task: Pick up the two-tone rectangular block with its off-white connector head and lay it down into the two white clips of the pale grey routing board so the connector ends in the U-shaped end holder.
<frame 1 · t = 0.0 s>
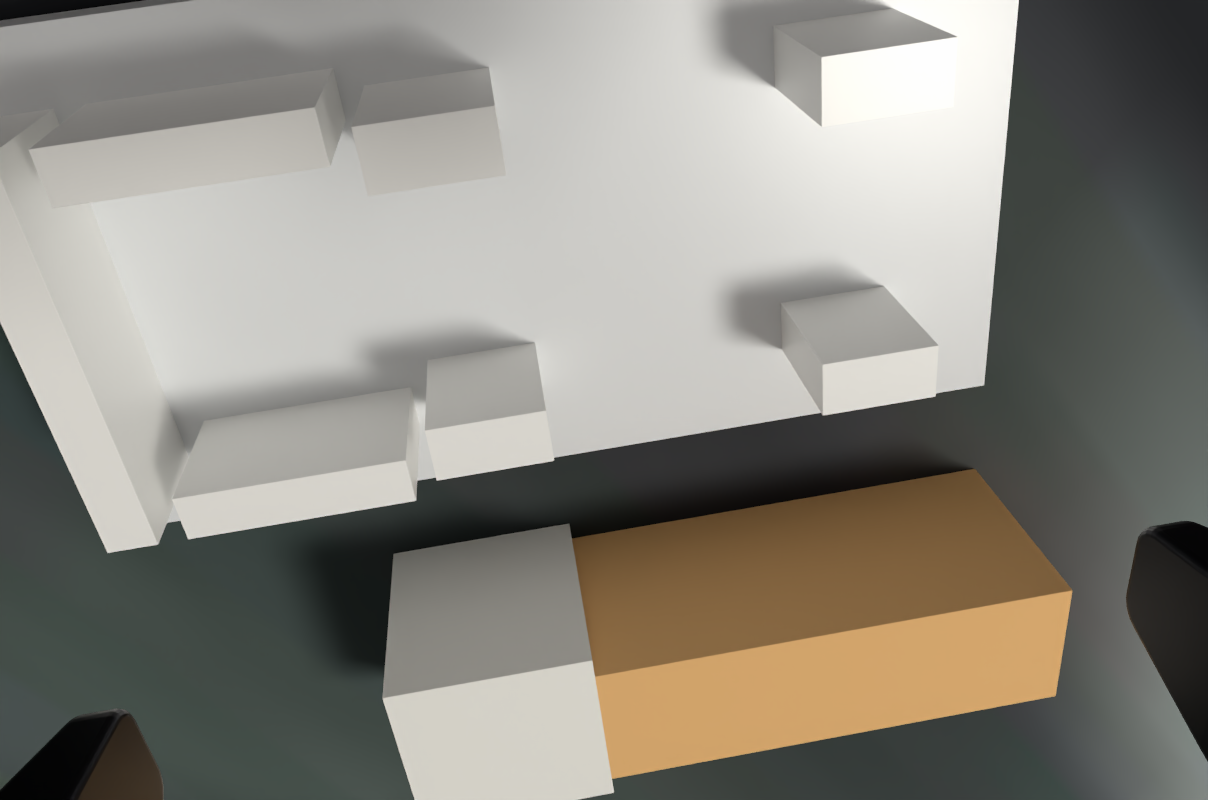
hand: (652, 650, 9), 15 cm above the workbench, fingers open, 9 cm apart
two-tone rectangular block: (741, 559, 28), on the workbench
routing board: (596, 212, 22), on the workbench
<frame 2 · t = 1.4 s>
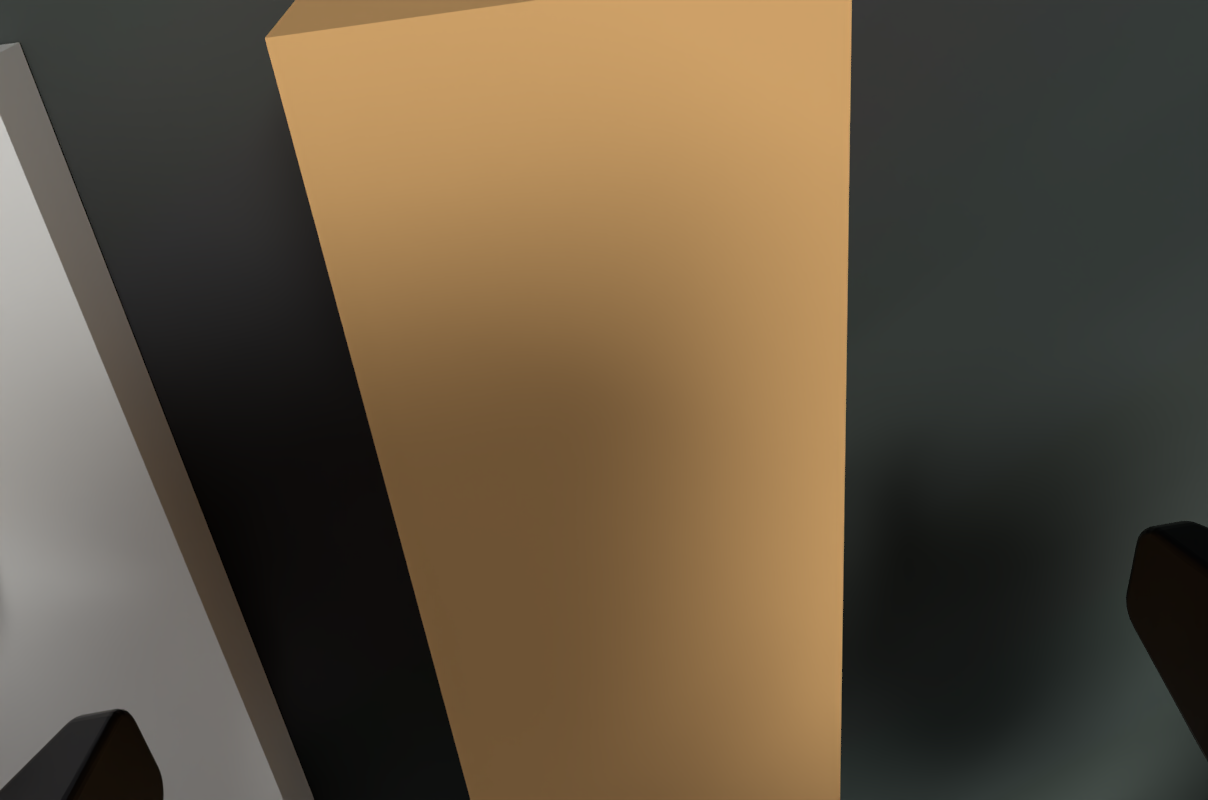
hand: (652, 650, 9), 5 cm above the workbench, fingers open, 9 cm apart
two-tone rectangular block: (589, 457, 13), on the workbench
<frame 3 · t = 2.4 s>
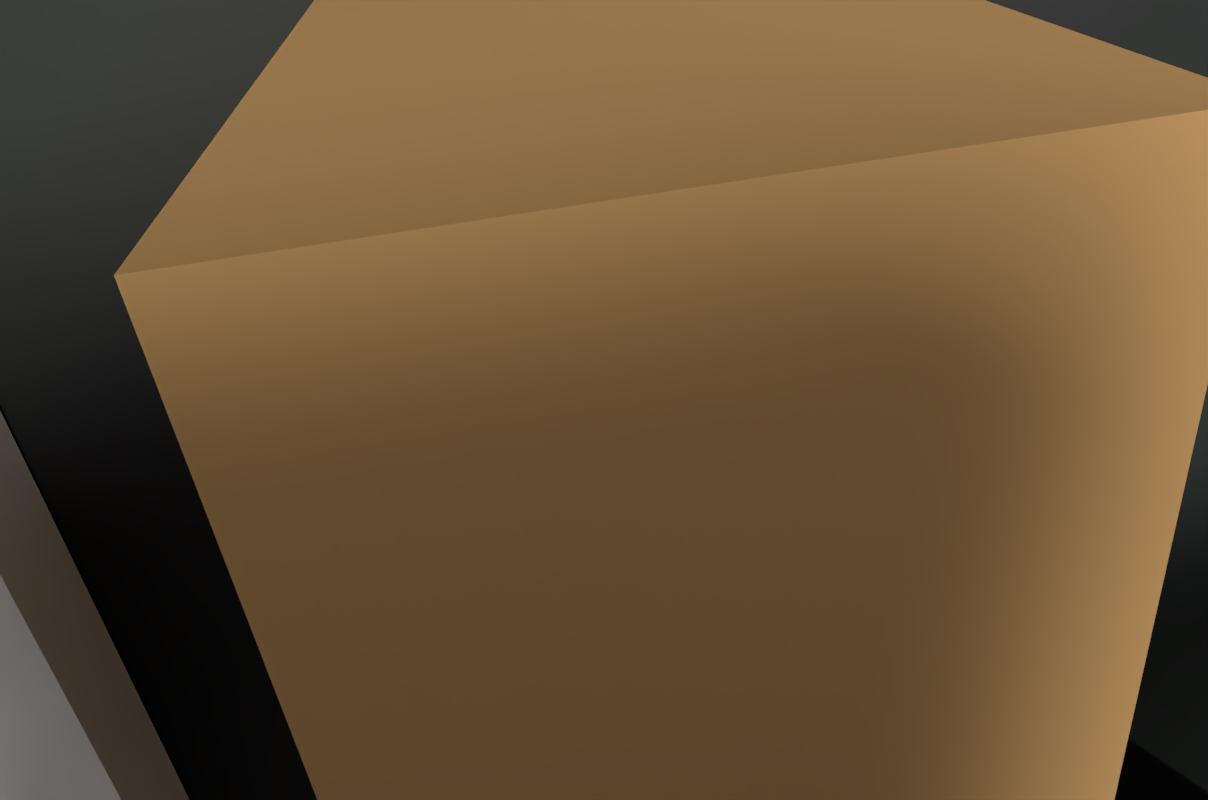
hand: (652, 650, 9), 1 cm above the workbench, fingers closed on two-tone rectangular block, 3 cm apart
two-tone rectangular block: (639, 636, 11), on the workbench, touching gripper
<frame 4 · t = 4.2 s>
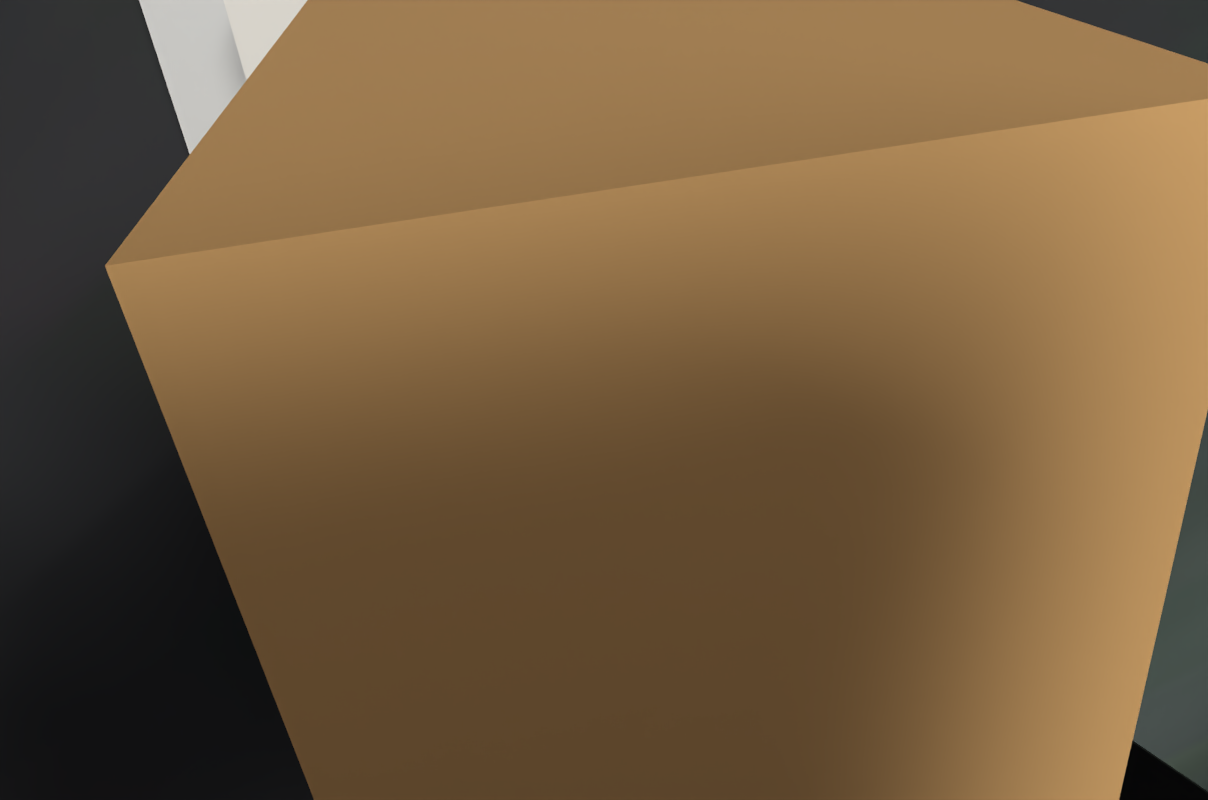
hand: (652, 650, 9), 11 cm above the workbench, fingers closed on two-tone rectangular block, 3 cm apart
two-tone rectangular block: (640, 635, 10), point 10 cm above the workbench, touching gripper
routing board: (554, 276, 19), on the workbench
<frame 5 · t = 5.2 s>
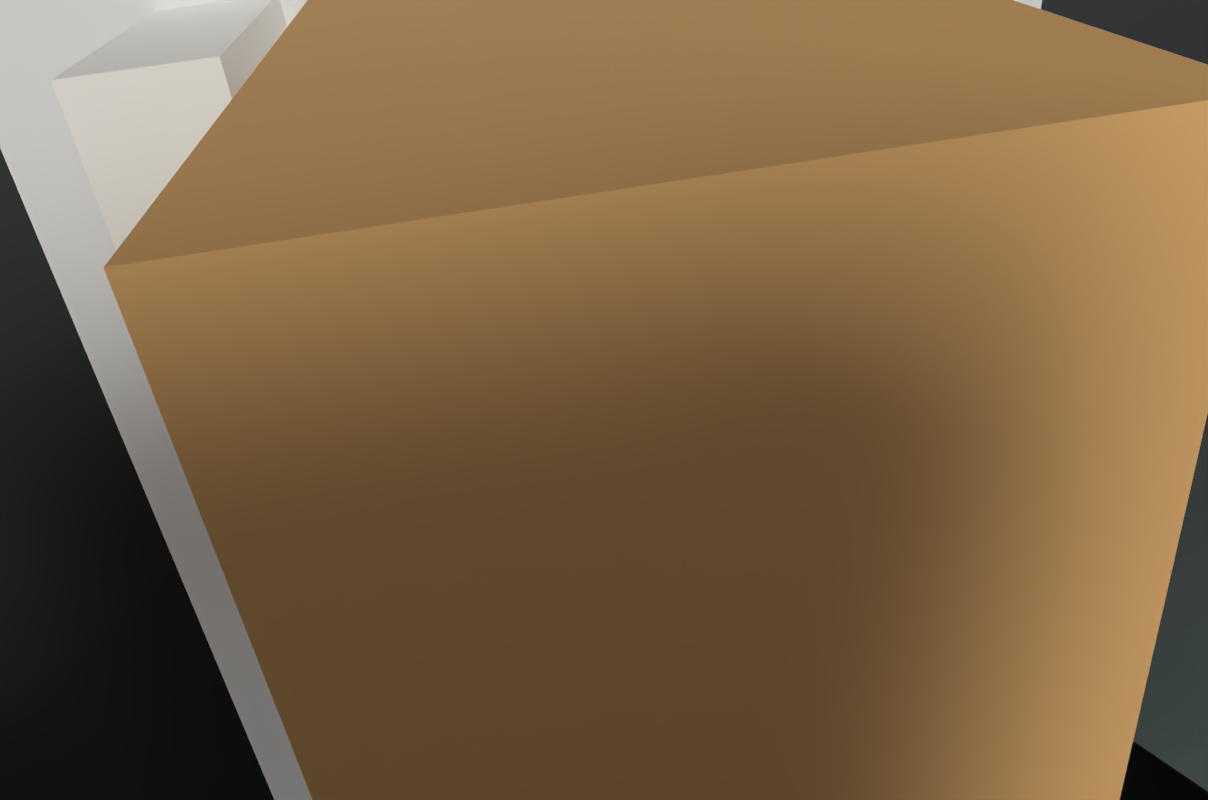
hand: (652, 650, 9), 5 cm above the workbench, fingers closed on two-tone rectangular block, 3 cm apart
two-tone rectangular block: (639, 635, 10), point 4 cm above the workbench, touching gripper
routing board: (584, 431, 14), on the workbench
when the fingers open (3 cm above the workbench, at t = 5.9 s): two-tone rectangular block stays where it is, resting on routing board.
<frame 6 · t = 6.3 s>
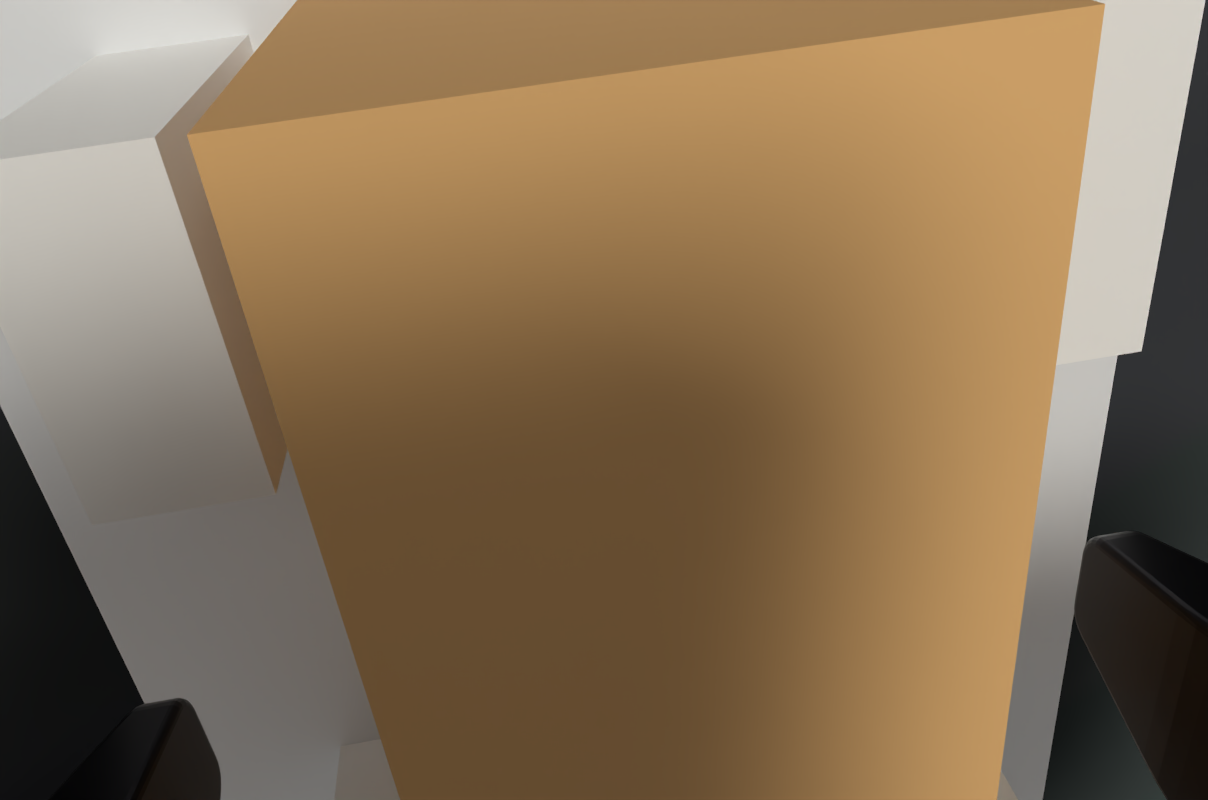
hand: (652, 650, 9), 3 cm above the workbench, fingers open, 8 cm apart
two-tone rectangular block: (625, 568, 11), point 1 cm above the workbench, touching routing board
routing board: (611, 525, 12), on the workbench
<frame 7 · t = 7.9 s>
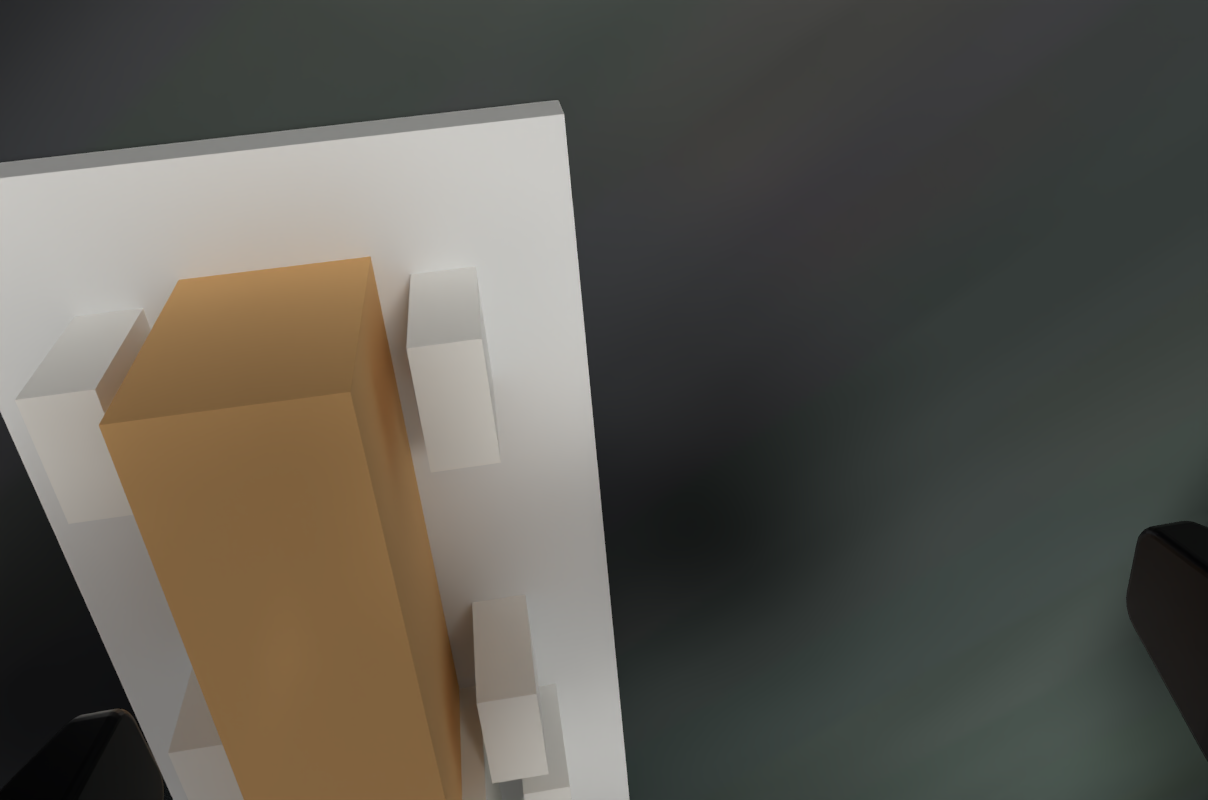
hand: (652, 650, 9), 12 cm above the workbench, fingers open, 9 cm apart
two-tone rectangular block: (348, 550, 22), point 1 cm above the workbench, touching routing board
routing board: (351, 527, 22), on the workbench
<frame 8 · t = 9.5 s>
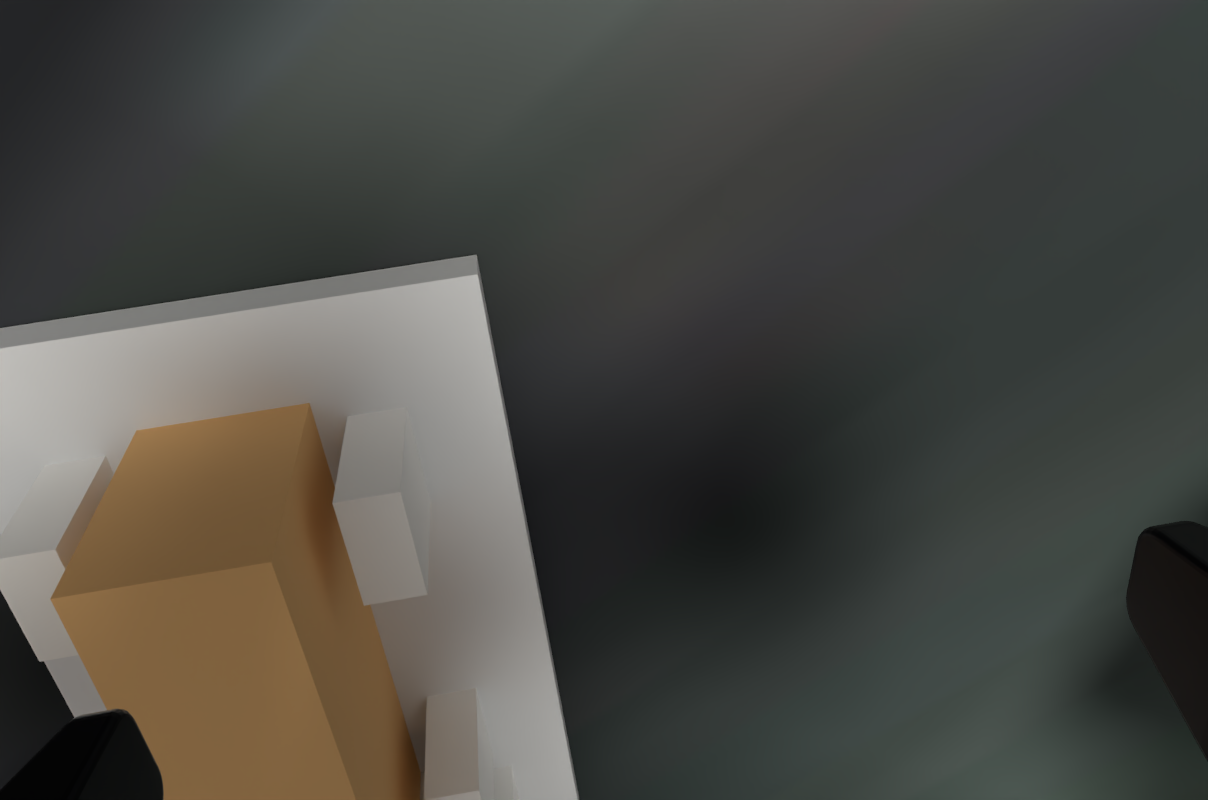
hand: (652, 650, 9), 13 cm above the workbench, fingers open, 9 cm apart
two-tone rectangular block: (308, 655, 23), point 1 cm above the workbench, touching routing board
routing board: (312, 630, 24), on the workbench
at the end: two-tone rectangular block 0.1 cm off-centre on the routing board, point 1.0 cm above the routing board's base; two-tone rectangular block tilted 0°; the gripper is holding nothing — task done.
